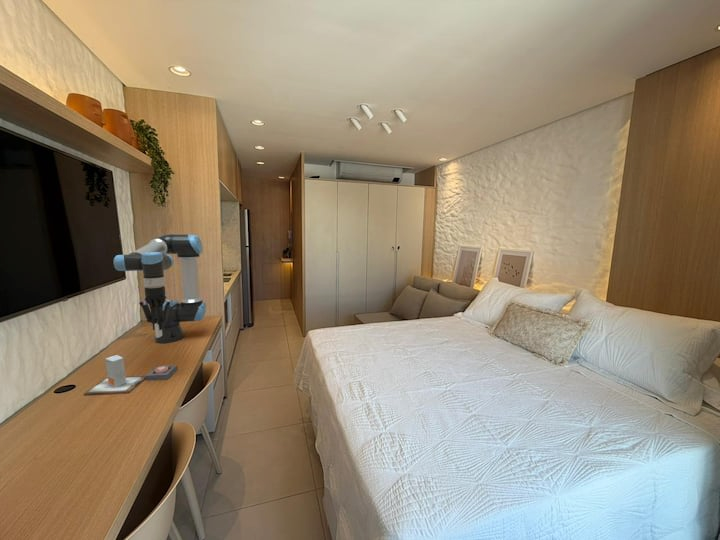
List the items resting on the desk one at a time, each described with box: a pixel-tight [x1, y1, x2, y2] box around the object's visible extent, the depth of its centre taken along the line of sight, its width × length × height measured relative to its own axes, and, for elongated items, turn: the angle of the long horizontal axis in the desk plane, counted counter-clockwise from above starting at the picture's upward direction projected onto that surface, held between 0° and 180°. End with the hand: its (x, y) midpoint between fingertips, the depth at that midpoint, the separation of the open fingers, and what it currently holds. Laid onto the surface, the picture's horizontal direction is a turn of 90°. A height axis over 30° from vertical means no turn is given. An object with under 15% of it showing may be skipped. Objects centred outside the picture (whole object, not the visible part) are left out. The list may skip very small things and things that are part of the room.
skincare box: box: [105, 354, 127, 387], centre depth 124 cm, size 6×4×12 cm
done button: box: [155, 365, 169, 373], centre depth 134 cm, size 5×5×3 cm
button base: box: [145, 365, 178, 382], centre depth 134 cm, size 9×9×2 cm
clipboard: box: [83, 375, 146, 396], centre depth 125 cm, size 13×17×1 cm
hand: (159, 336), depth 132 cm, fingers closed
